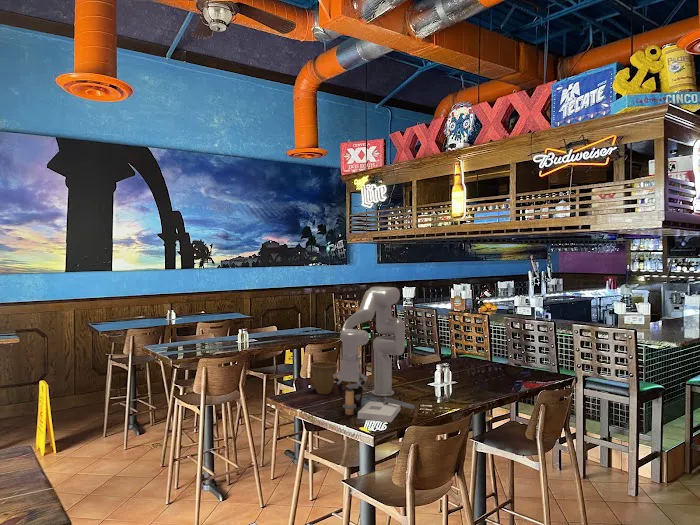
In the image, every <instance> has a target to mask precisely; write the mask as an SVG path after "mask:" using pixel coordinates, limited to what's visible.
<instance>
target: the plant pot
mask: <svg viewBox="0 0 700 525" xmlns="http://www.w3.org/2000/svg"><path fill="white" fill-rule="evenodd" d="M310 366H311V367H310V368H311V375H312V379H313V385H314V388H315V390H316V394H318V395H328V394H331V393H332V389H333V387H334V383H335V382H336V381H335V379H334V377H333V374H335V373H337V372H338V367H339V364H338V363H336V362H331V361H314V362H311V364H310Z"/></svg>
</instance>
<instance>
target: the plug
mask: <svg viewBox="0 0 700 525" xmlns="http://www.w3.org/2000/svg"><path fill="white" fill-rule="evenodd" d="M345 390H346V391H345V396H344V398H345V399H344V400H345V403H343V404H342V408H343V409H344V410H345V411H344V412H345V413H344V415H347V416H352V415H354V411H355V410H354V409H357V408H356V404H354V391H353V390H352V388H348V390H347V389H345Z"/></svg>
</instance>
